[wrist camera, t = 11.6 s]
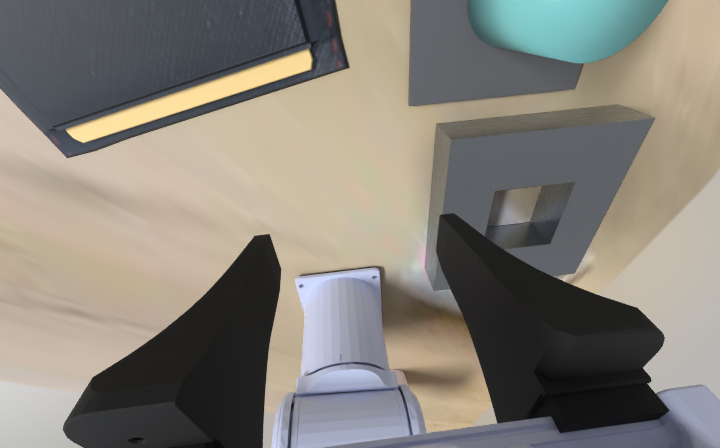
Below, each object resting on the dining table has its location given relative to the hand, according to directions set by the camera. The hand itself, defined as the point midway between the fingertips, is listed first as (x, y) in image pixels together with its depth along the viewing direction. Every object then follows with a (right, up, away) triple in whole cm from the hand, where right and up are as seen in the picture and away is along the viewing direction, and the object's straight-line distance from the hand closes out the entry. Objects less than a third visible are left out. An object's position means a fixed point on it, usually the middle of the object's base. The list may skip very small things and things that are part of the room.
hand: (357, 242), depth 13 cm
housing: (+12, +3, +12) cm, 18 cm away
